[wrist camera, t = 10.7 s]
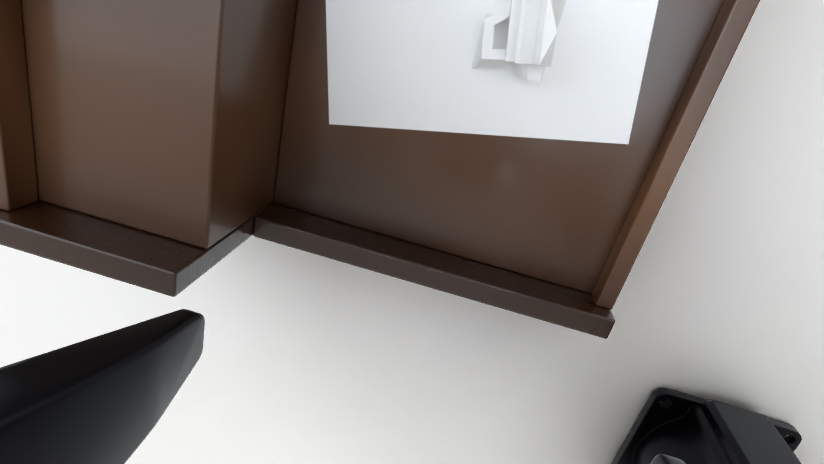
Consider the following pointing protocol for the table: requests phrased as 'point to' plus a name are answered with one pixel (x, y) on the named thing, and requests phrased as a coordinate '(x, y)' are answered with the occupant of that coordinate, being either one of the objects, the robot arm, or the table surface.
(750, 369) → the table surface
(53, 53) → the wooden step tray
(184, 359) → the robot arm
